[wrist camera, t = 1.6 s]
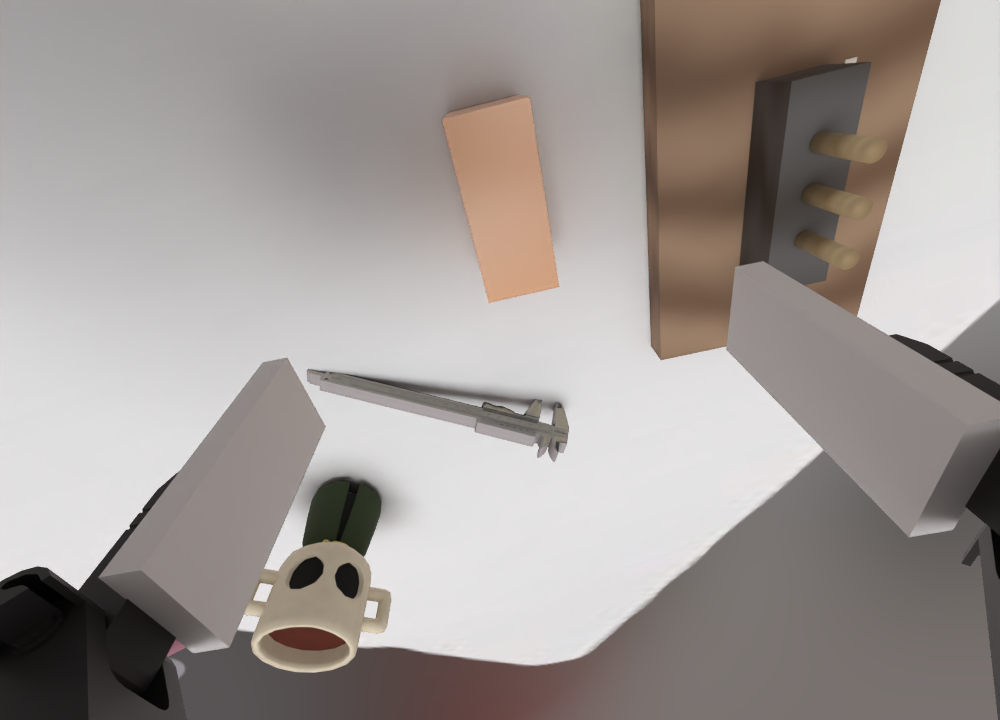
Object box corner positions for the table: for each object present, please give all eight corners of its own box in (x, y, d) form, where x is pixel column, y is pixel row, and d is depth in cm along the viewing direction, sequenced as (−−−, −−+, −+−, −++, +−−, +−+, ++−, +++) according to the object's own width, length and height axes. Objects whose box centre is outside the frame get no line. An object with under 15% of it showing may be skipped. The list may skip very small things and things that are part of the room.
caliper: (562, 400, 36) (577, 453, 31) (558, 410, 37) (573, 464, 31) (308, 366, 33) (277, 420, 28) (309, 378, 34) (278, 432, 28)
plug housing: (447, 112, 24) (441, 119, 19) (517, 95, 24) (529, 96, 19) (485, 265, 29) (488, 302, 24) (543, 251, 29) (559, 287, 24)
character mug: (416, 488, 40) (395, 636, 29) (394, 532, 44) (369, 681, 33) (295, 459, 38) (224, 612, 27) (283, 509, 41) (215, 663, 30)
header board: (640, -18, 22) (724, -71, 14) (930, -98, 21) (1174, -196, 13) (651, 346, 33) (700, 417, 26) (836, 306, 32) (939, 368, 25)
